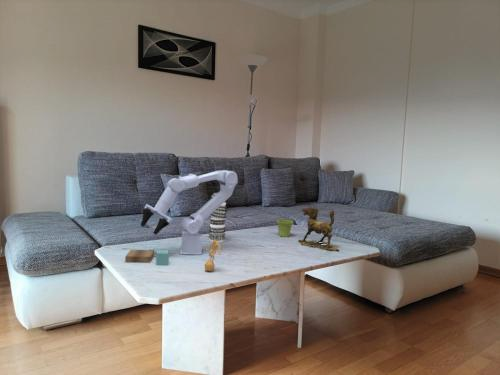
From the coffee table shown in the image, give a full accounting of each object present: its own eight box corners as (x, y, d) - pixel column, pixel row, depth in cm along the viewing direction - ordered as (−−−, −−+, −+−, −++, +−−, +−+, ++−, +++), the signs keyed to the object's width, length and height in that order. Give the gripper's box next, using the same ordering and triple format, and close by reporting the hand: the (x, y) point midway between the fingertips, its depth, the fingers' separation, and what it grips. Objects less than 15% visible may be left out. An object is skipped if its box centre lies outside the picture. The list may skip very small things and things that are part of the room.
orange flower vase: (198, 269, 143) (199, 239, 142) (210, 266, 147) (211, 237, 146) (212, 274, 137) (213, 244, 136) (224, 271, 142) (225, 241, 140)
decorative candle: (204, 239, 191) (206, 192, 188) (217, 237, 198) (218, 192, 195) (216, 243, 185) (218, 194, 182) (229, 240, 192) (231, 193, 189)
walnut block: (154, 256, 158) (154, 250, 158) (150, 263, 149) (150, 256, 148) (130, 256, 157) (130, 249, 157) (125, 263, 147) (125, 256, 147)
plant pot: (294, 237, 205) (295, 222, 204) (278, 237, 203) (279, 222, 202) (289, 234, 214) (290, 219, 213) (273, 234, 212) (274, 219, 211)
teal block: (168, 262, 151) (169, 250, 150) (167, 265, 146) (167, 253, 146) (157, 262, 150) (157, 250, 150) (156, 265, 146) (156, 253, 145)
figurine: (307, 239, 203) (310, 203, 201) (345, 249, 184) (348, 210, 182) (292, 242, 194) (294, 205, 192) (330, 253, 176) (333, 212, 174)
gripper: (148, 193, 158) (131, 220, 156) (172, 207, 152) (155, 235, 150) (156, 197, 164) (140, 223, 162) (180, 211, 159) (164, 238, 157)
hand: (148, 229), depth 157 cm, fingers open, 7 cm apart
